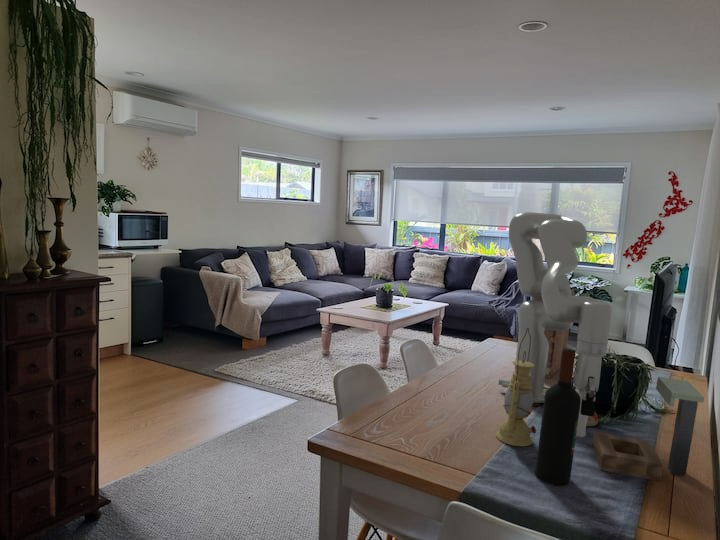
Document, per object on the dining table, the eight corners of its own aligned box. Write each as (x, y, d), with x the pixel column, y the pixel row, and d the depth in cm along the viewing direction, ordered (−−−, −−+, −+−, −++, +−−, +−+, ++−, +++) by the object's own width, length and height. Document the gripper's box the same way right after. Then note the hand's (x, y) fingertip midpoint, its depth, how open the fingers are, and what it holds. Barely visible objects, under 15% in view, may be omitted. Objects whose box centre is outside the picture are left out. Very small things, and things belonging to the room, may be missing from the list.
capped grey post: (657, 479, 123) (672, 392, 120) (645, 456, 135) (657, 376, 132) (691, 486, 121) (706, 397, 119) (675, 462, 133) (689, 381, 130)
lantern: (528, 453, 132) (542, 336, 127) (489, 441, 137) (502, 328, 132) (539, 436, 142) (553, 327, 138) (503, 426, 147) (515, 320, 143)
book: (541, 358, 217) (550, 286, 213) (565, 363, 212) (574, 289, 208) (524, 372, 196) (534, 293, 192) (549, 379, 191) (560, 297, 187)
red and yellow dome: (572, 424, 152) (574, 413, 152) (573, 412, 161) (575, 401, 161) (597, 430, 149) (599, 418, 149) (597, 418, 158) (599, 406, 158)
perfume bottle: (589, 439, 143) (596, 385, 141) (572, 436, 143) (579, 383, 141) (585, 431, 147) (592, 380, 145) (568, 429, 148) (575, 377, 146)
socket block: (600, 469, 126) (602, 453, 125) (592, 446, 138) (594, 431, 138) (660, 481, 123) (663, 465, 122) (646, 456, 135) (649, 441, 135)
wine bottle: (529, 468, 124) (545, 344, 120) (560, 468, 125) (577, 345, 121) (543, 485, 117) (560, 354, 113) (576, 486, 117) (594, 356, 113)
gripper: (572, 338, 151) (566, 396, 153) (580, 353, 134) (573, 418, 136) (601, 342, 149) (594, 400, 151) (612, 357, 132) (604, 422, 134)
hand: (584, 408), depth 144 cm, fingers open, 9 cm apart
